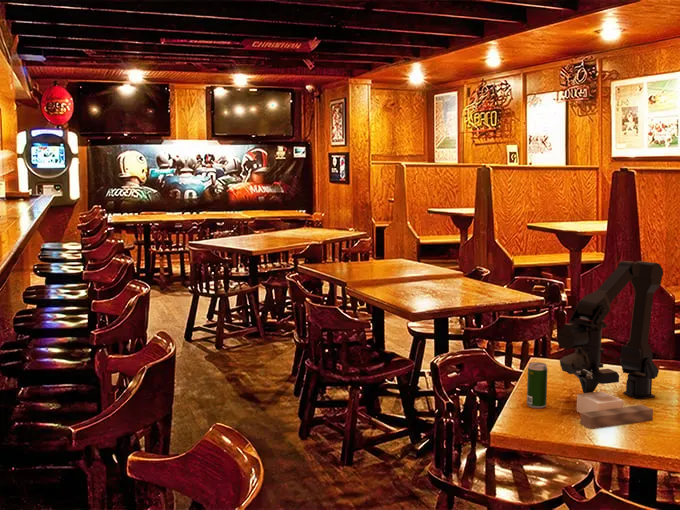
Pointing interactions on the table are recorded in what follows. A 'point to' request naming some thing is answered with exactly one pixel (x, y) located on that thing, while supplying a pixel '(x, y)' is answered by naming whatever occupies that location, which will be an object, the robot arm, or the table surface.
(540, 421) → the table surface
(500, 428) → the table surface
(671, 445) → the table surface
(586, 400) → the block
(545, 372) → the beer can
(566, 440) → the table surface
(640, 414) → the board
